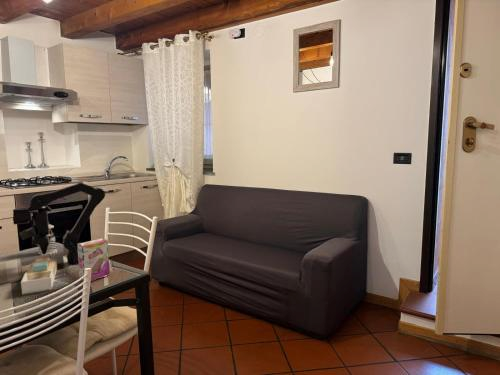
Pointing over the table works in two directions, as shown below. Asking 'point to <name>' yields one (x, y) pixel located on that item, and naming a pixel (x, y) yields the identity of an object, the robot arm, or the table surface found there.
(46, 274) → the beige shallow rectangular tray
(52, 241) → the french press
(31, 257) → the table surface
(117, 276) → the table surface
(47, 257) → the terracotta block
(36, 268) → the mint green block
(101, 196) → the robot arm
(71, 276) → the table surface
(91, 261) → the candy bar box
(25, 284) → the box
